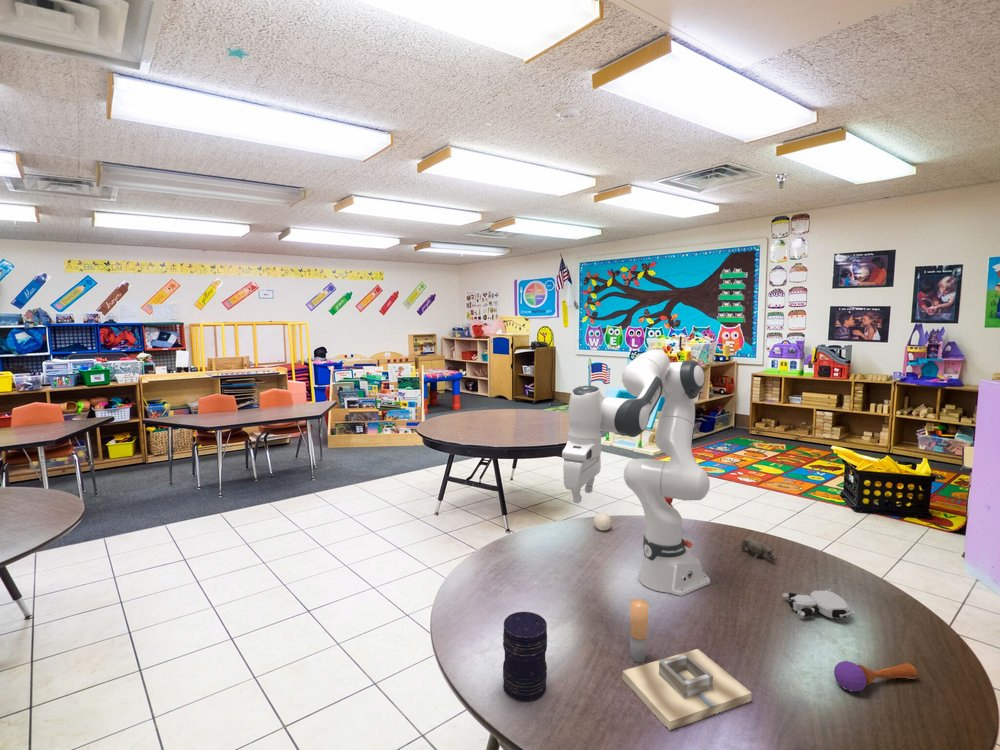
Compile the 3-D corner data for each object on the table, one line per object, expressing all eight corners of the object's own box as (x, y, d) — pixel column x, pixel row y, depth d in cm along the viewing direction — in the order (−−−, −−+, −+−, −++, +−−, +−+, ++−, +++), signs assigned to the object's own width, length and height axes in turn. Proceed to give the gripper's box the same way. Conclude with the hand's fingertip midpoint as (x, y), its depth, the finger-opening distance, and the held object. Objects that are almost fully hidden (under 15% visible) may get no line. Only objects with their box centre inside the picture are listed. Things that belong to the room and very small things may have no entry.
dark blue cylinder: (514, 708, 107) (514, 642, 106) (495, 678, 116) (496, 617, 115) (554, 694, 111) (555, 630, 110) (534, 667, 120) (534, 607, 119)
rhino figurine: (772, 567, 170) (773, 550, 169) (738, 551, 182) (739, 535, 182) (780, 565, 172) (781, 548, 171) (746, 549, 184) (747, 533, 184)
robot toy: (799, 626, 138) (858, 625, 137) (799, 610, 138) (858, 610, 136) (779, 602, 151) (833, 601, 149) (779, 587, 150) (833, 586, 149)
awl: (639, 650, 126) (641, 597, 125) (650, 660, 123) (652, 606, 121) (625, 654, 125) (627, 600, 123) (635, 664, 121) (637, 609, 120)
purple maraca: (927, 671, 113) (854, 677, 109) (918, 692, 115) (846, 699, 111) (902, 650, 119) (832, 655, 115) (894, 670, 121) (824, 676, 116)
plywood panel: (697, 656, 124) (698, 637, 124) (751, 701, 109) (752, 679, 109) (622, 678, 116) (622, 658, 116) (669, 730, 101) (670, 707, 101)
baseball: (598, 524, 206) (598, 508, 206) (614, 529, 202) (614, 513, 201) (589, 529, 201) (590, 513, 200) (606, 534, 196) (606, 518, 196)
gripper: (585, 438, 145) (584, 485, 147) (559, 453, 127) (558, 506, 129) (606, 440, 142) (605, 488, 144) (583, 456, 124) (582, 510, 126)
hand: (583, 497), depth 136 cm, fingers open, 8 cm apart
